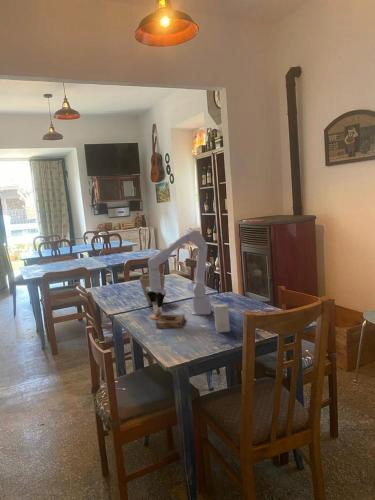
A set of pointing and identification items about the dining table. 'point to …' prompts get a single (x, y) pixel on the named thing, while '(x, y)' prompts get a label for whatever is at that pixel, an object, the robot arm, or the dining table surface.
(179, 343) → the dining table surface
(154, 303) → the end cover
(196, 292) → the robot arm
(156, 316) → the dish
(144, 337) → the dining table surface
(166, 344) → the dining table surface
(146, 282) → the plant pot
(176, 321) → the housing
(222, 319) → the skincare box
